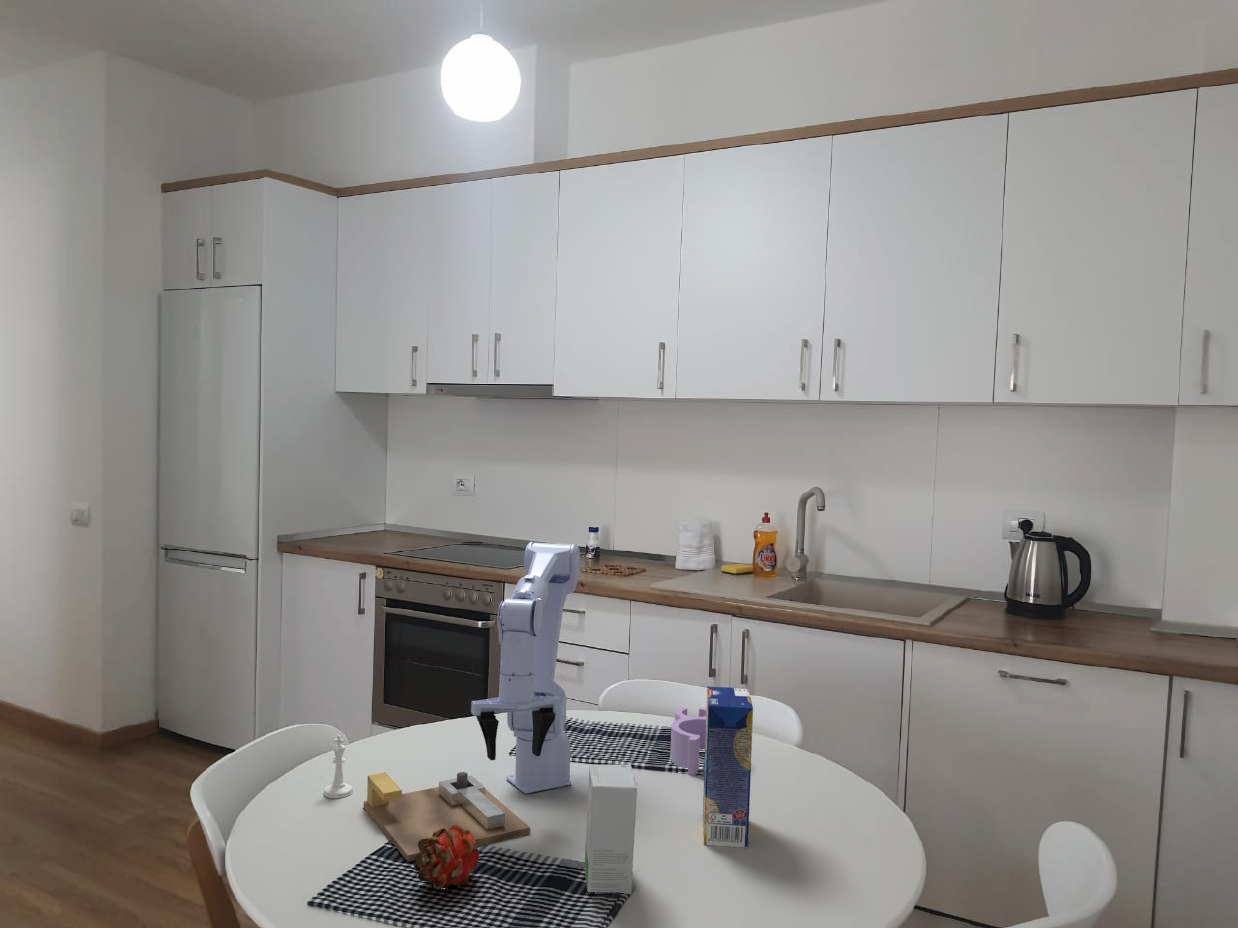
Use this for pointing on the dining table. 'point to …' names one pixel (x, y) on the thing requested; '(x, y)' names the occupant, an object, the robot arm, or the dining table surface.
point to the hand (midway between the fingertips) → (513, 756)
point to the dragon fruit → (447, 857)
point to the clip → (688, 739)
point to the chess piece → (338, 775)
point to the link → (473, 801)
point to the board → (437, 819)
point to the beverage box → (727, 766)
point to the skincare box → (610, 828)
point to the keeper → (381, 789)
